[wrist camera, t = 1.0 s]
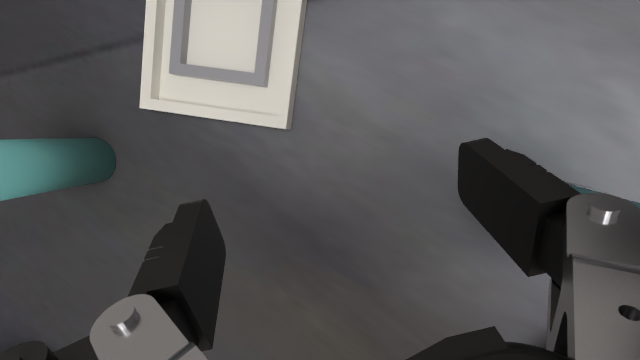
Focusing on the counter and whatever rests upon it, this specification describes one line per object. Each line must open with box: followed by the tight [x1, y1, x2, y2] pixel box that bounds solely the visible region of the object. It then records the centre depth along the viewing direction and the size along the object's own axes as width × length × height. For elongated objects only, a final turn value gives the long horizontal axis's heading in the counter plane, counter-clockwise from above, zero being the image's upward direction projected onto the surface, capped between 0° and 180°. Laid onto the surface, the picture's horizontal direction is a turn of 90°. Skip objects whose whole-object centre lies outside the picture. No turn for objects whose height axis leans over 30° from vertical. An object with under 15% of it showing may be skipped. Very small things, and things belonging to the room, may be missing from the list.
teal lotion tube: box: [0, 138, 116, 201], centre depth 29 cm, size 5×5×16 cm
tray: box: [140, 0, 307, 129], centre depth 32 cm, size 16×14×2 cm
